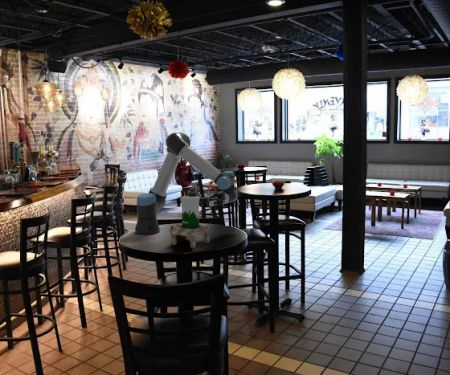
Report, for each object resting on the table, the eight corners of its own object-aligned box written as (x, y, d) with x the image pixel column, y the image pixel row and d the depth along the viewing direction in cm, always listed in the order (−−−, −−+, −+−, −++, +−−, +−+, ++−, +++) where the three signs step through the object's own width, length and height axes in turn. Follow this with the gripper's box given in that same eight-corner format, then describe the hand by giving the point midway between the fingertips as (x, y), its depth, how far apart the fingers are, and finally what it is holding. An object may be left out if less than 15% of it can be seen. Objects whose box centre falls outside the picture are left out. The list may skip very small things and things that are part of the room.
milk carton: (202, 228, 253) (201, 192, 251) (190, 231, 247) (189, 194, 244) (190, 226, 259) (190, 191, 257) (179, 229, 252) (178, 193, 250)
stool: (170, 244, 251) (169, 227, 250) (187, 238, 265) (187, 222, 264) (193, 248, 243) (193, 230, 242) (210, 241, 256) (210, 225, 255)
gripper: (238, 206, 271) (218, 211, 253) (203, 203, 284) (182, 208, 267) (237, 193, 270) (218, 198, 253) (203, 191, 284) (182, 195, 266)
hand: (199, 203), depth 260 cm, fingers open, 13 cm apart
